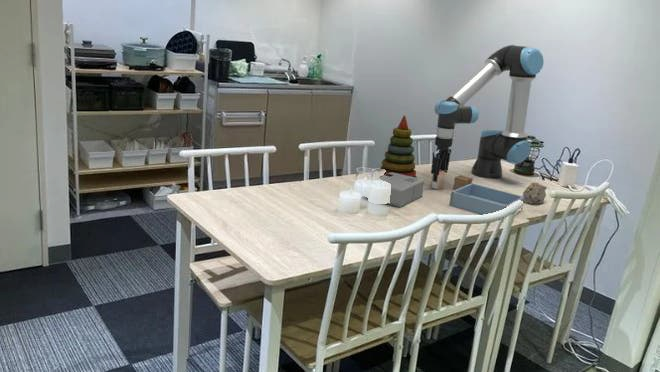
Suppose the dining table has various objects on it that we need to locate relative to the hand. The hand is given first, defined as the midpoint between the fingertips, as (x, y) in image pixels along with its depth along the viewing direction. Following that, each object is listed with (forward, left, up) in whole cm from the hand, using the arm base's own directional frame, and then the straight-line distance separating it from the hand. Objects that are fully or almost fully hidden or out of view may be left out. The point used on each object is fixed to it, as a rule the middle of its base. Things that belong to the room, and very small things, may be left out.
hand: (437, 186), depth 248 cm
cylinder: (0, 0, 0) cm, 0 cm away
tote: (+8, +27, 0) cm, 28 cm away
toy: (+1, -21, -1) cm, 21 cm away
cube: (-7, +9, -1) cm, 11 cm away
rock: (-18, +39, -1) cm, 43 cm away
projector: (+28, -5, -1) cm, 29 cm away
